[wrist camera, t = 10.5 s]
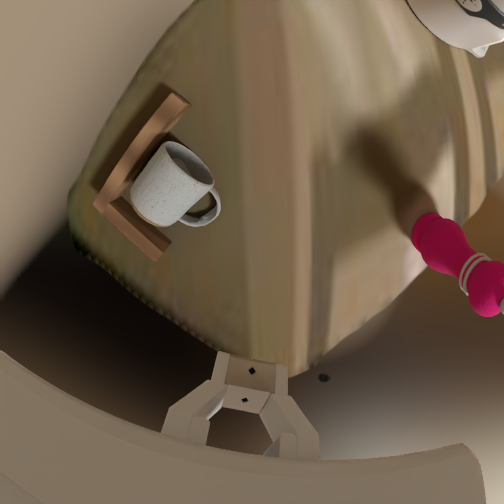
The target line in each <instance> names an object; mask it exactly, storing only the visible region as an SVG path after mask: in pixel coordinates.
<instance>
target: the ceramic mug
mask: <svg viewBox="0 0 504 504" xmlns="http://www.w3.org/2000/svg"><path fill="white" fill-rule="evenodd" d="M213 186H214V178H213V176H212V174H211V172H210V170H209V169H208V167H207V166H206V165H205V164H204V163H203V162H202V160H201V159H200V158H199V157H197V156H196V155H195V154H194V153H193V152H191V151H190V150H189V149H187V148H186V147H184V146H183V145H181V144H179V143H176V142H172V141H167V142H165V143H163V144H162V145H161V147H160V148H159V149H158V151H157V152H156V153H155V155H154V156H153V157H152V158H151V160H150V161H149V162H148V164H147V165H146V167H145V168H144V169H143V171H142V172H141V173H140V175H139V176H138V177H137V179H136V181H135V182H134V184H133V186H132V188H131V191H130V201H131V204H132V206H133V208H134V210H135V211H136V212H137V214H138V215H139V216H140V217H141V218H142V219H144V220H145V221H147V222H148V223H150V224H152V225H155V226H160V227H166V226H169V225H171V224H173V223H174V222H176V221H177V220H179V221H180V222H182V223H184V224H186V225H189V226H194V227H196V226H203V225H206V224H208V223H210V222H211V221H213V220H214V219H215V218H216V217H217V216H218V215H219V213H220V210H221V202H220V197H219V194H218V193H217V191H216V189H215V188H214V187H213ZM208 191H209V192H211V193H212V194H213V196H214V198H215V199H216V202H217V204H216V206H215V207H214V208H213V209H212V210H211V211H209V212H208V213H207V214H205V215H203V216H202V217H201V218H191V217H187V216H185V215H184V214H185V213H186V211H187V210H188V209H189V208H190V207H192V206H193V205H194V204H195V203H196V202H197V201H198V200H199V199H200V198H201V197H203V196H204V195H205V194H206V193H207V192H208Z"/></svg>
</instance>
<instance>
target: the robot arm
mask: <svg viewBox="0 0 504 504" xmlns="http://www.w3.org/2000/svg"><path fill="white" fill-rule="evenodd" d="M407 1H408V3H409V5H410V7H411V8H412V10H413V11H414V13H415V14H416V16H417V17H418V18H419V19H420V21H421V22H422V23H423V24H424V25H425V26H426V27H427V28H428V29H429V30H430V31H431V32H432V33H433V34H435V35H436V36H437V37H438V38H440V39H441V40H443V41H444V42H446V43H448V44H450V45H452V46H454V47H457V48H462V49H465V50H467V51H469V52H470V53H471V54H473V55H474V56H476V57H478V58H481V57H483V56H484V55H485V53H486V51H487V49H488V47H489V45H492V44H496V43H499V42H502V41H504V0H407ZM221 406H222V407H227V408H232V409H238V410H243V411H247V412H252V413H258V414H259V415H260V417H261V419H262V421H263V423H264V425H265V427H266V429H267V431H268V433H269V435H270V437H271V439H272V441H273V442H274V443H273V444H272V445H271V446H270V447H269V449H268V450H267V451H266V452H265V453H264V456H261V455H253V454H246V453H240V452H234V451H229V450H224V449H219V448H213V447H209V446H205V443H206V439H207V434H208V429H209V424H210V422H209V421H208V419H209V418H210V417H211V416H212V415H214V414H215V413H216V412H217V411H218V410H219V409H220V408H221ZM0 504H486V497H485V489H484V482H483V476H482V471H481V466H480V463H479V460H478V458H477V456H476V455H475V454H474V453H473V452H472V451H471V450H470V449H469V448H468V447H467V446H466V445H464V444H463V443H457V444H453V445H449V446H445V447H441V448H436V449H432V450H427V451H422V452H416V453H410V454H404V455H397V456H389V457H380V458H368V459H351V460H320V456H319V435H318V433H317V432H316V431H315V429H314V428H313V426H312V425H311V424H310V422H309V421H308V420H307V418H306V417H305V415H304V414H303V413H302V412H301V410H300V409H299V407H298V406H297V404H296V403H295V401H294V400H293V399H292V397H291V396H288V367H287V366H286V365H281V364H275V363H270V362H265V361H260V360H255V359H249V358H245V357H241V356H237V355H233V354H228V353H224V352H221V351H219V352H218V354H217V359H216V362H215V366H214V370H213V374H212V379H211V381H210V380H207V381H205V382H204V383H203V384H202V385H200V386H199V387H197V388H196V389H195V390H193V391H192V392H191V393H190V394H188V395H187V396H185V397H184V398H182V399H181V400H180V401H178V402H177V403H175V404H174V405H173V406H171V407H170V408H169V411H168V414H167V417H166V420H165V422H164V425H163V428H162V431H161V433H158V432H155V431H152V430H149V429H146V428H143V427H141V426H138V425H135V424H132V423H130V422H127V421H125V420H122V419H120V418H117V417H115V416H113V415H110V414H108V413H106V412H104V411H101V410H99V409H97V408H95V407H92V406H90V405H89V404H86V403H84V402H82V401H80V400H78V399H77V398H75V397H73V396H71V395H69V394H67V393H65V392H63V391H62V390H60V389H58V388H56V387H55V386H53V385H51V384H49V383H48V382H46V381H45V380H43V379H41V378H40V377H38V376H37V375H35V374H34V373H32V372H30V371H29V370H27V369H26V368H24V367H23V366H22V365H20V364H19V363H17V362H16V361H15V360H13V359H12V358H10V357H9V356H8V355H7V354H5V353H4V352H2V351H1V350H0Z"/></svg>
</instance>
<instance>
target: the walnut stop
mask: <svg viewBox="0 0 504 504" xmlns="http://www.w3.org/2000/svg"><path fill="white" fill-rule="evenodd" d="M191 106H192V104H190V103H189V102H188V101H187V100H186V99H184V98H183V97H182V96H180V95H177V94H174V93H171V94H170V95H169V96H168V97H167V99H166V100H165V101H164V102H163V103H162V105H161V106H160V107H159V108H158V109H157V111H156V112H155V113H154V114H153V116H152V117H151V118H150V119H149V121H148V122H147V123H146V125H145V126H144V127H143V128H142V130H141V131H140V132H139V134H138V135H137V136H136V138H135V139H134V141H133V142H132V143H131V145H130V146H129V148H128V149H127V150H126V152H125V153H124V155H123V156H122V158H121V159H120V161H119V162H118V164H117V165H116V167H115V168H114V170H113V171H112V173H111V175H110V176H109V178H108V179H107V181H106V183H105V184H104V186H103V187H102V189H101V191H100V192H99V194H98V196H97V198H96V199H95V201H94V203H93V205H94V206H95V207H96V208H97V209H98V210H99V211H100V212H101V213H102V214H103V215H104V216H105V217H106V218H107V219H108V220H109V221H110V222H111V223H112V224H114V225H115V226H116V227H117V228H118V229H119V230H120V231H121V232H122V233H123V234H124V235H125V236H126V237H127V238H129V239H130V240H131V241H132V242H133V243H134V244H135V245H136V246H137V247H139V248H140V249H141V250H142V251H143V252H144V253H145V254H146V255H148V256H149V257H150V258H151V259H152V260H153V261H154V262H156V261H157V260H158V258H159V257H160V256H161V255H162V254H163V253H164V251H165V250H166V249H167V248H168V246H169V245H170V244H171V241H170V240H169V239H168V238H166V237H165V236H164V235H163V234H162V233H161V232H160V231H159V230H157V229H156V228H155V227H154V226H153V225H152V224H150V223H148V222H147V221H145V220H144V219H142V218H141V217H140V216H139V215H138V214H137V212H136V211H135V210H134V208H133V207H132V206H131V205H130V204H129V203H128V202H127V201H126V200H125V199H124V198H123V197H122V194H123V193H124V191H125V190H126V188H127V187H128V185H129V184H130V182H131V181H132V180H133V178H134V177H135V175H136V174H137V173H138V171H139V170H140V168H141V167H142V166H143V164H144V163H145V162H146V160H147V159H148V158H149V156H150V155H151V154H152V152H153V151H154V150H155V149H156V147H157V146H158V145H159V143H160V142H161V141H162V140H163V138H164V137H165V136H166V135H167V134H168V132H169V131H170V130H171V129H172V128H173V126H174V125H175V124H176V123H177V122H178V120H179V119H180V118H181V117H182V116H183V115H184V114H185V112H186V111H187V110H188V109H189V108H190V107H191Z"/></svg>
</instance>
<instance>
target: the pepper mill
mask: <svg viewBox="0 0 504 504" xmlns="http://www.w3.org/2000/svg"><path fill="white" fill-rule="evenodd" d="M412 241H413V244H414V246H415V248H416V249H417V250H418V251H419V252H420V253H421V255H422V258H423V260H424V261H425V263H426V264H427V265H428V266H430V267H431V268H432V269H434V270H436V271H439V272H443V273H447V274H451V275H453V276H455V277H456V278H457V279H458V280H459V284H460V287H461V289H462V290H463V291H464V292H465V293H466V295H468V298H469V302H470V305H471V306H472V308H473V309H474V310H475V311H476V312H477V313H478V314H480V315H482V316H485V317H490V316H494V315H496V314H498V313H499V312H502V313H503V314H504V264H502V263H501V262H499V261H492V260H491V259H490V258H488V257H487V256H486V255H485V254H483V253H476V252H475V251H474V250H473V249H472V248H471V247H470V246H469V243H468V241H467V238H466V235H465V234H464V232H463V230H462V229H461V227H460V226H459V225H458V224H457V223H455V222H454V221H453V220H450V219H446V218H442V217H441V216H439V215H437V214H435V213H429V214H426V215H424V216H422V217H421V218H420V219H419V220H418V221H417V222H416V224H415V226H414V228H413V233H412Z"/></svg>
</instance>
